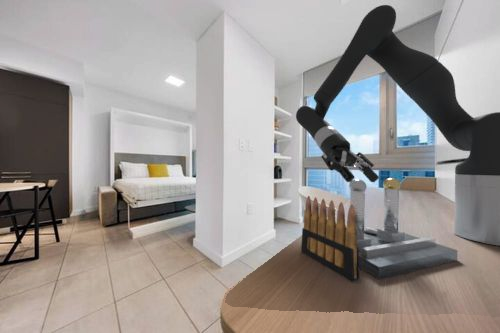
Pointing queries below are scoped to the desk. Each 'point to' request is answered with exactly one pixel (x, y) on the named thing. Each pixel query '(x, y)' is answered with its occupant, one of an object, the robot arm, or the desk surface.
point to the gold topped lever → (390, 213)
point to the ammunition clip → (331, 238)
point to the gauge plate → (402, 255)
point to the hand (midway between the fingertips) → (363, 180)
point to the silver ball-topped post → (359, 211)
